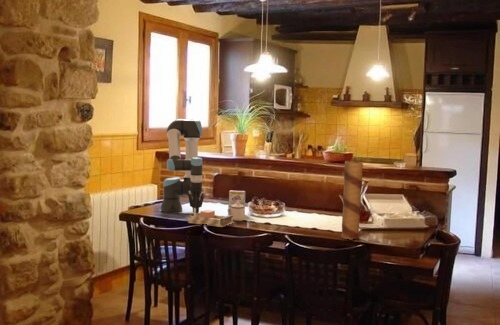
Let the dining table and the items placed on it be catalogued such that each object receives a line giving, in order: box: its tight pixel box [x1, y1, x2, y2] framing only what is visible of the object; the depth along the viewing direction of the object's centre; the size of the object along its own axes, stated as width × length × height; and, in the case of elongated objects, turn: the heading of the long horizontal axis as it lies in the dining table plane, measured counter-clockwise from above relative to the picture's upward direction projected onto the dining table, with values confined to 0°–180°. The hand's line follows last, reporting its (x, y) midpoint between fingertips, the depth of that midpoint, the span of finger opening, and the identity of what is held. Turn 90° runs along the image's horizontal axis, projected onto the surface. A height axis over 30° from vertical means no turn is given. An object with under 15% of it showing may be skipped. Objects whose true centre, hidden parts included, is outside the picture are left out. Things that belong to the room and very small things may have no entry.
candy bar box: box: [227, 189, 246, 216], centre depth 397 cm, size 11×5×16 cm, turn 84°
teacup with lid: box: [227, 202, 245, 222], centre depth 381 cm, size 12×9×12 cm
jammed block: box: [199, 209, 216, 219], centre depth 367 cm, size 6×8×6 cm
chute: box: [187, 212, 234, 228], centre depth 366 cm, size 25×14×5 cm, turn 64°
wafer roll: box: [341, 160, 364, 241], centre depth 331 cm, size 10×11×45 cm
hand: (195, 217), depth 371 cm, fingers closed
